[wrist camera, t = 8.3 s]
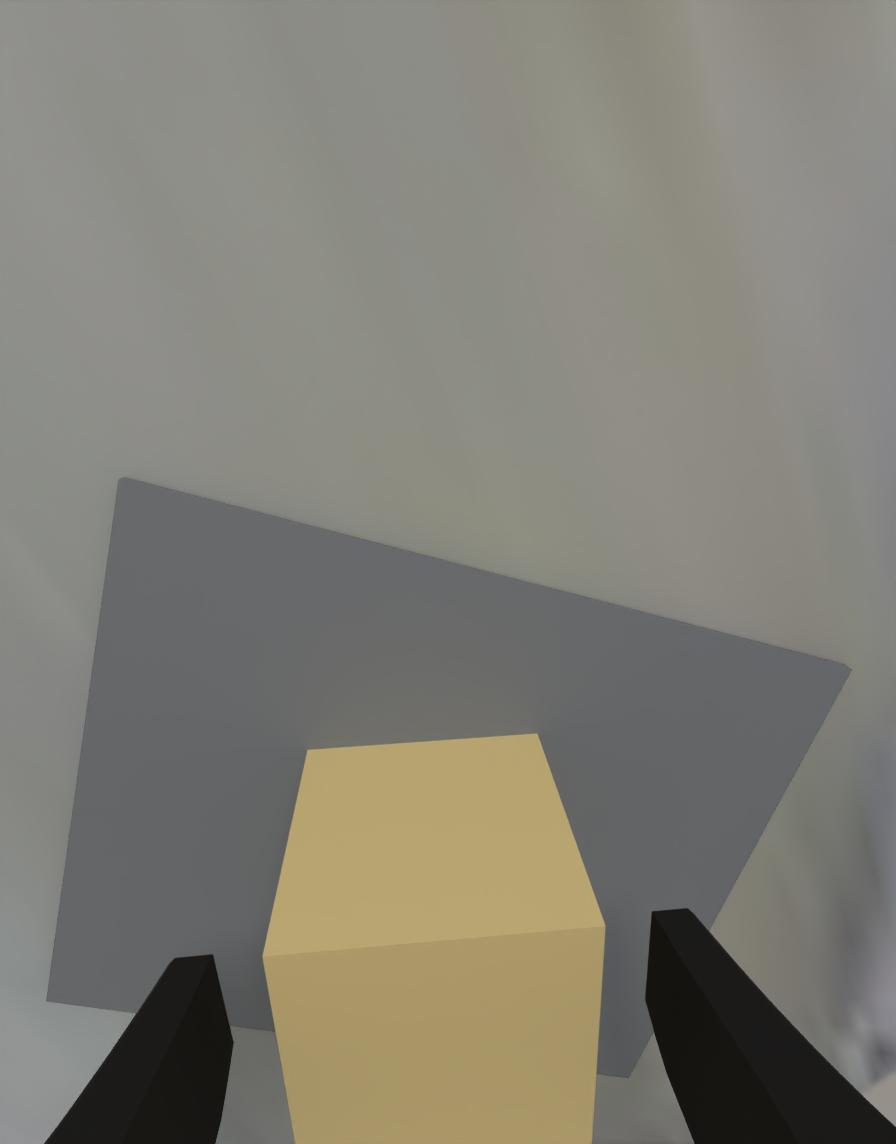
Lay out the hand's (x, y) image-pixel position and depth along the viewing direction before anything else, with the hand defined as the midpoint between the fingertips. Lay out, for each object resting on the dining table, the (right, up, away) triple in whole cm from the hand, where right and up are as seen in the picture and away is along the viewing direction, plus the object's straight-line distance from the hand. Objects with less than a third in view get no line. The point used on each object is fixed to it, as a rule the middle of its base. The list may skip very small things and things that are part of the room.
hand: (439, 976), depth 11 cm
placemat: (0, +1, +3) cm, 3 cm away
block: (0, +1, +3) cm, 3 cm away
